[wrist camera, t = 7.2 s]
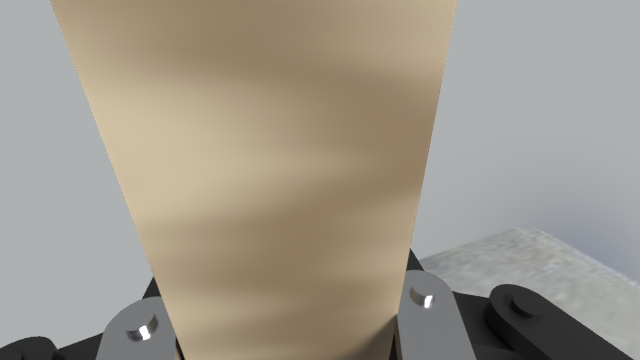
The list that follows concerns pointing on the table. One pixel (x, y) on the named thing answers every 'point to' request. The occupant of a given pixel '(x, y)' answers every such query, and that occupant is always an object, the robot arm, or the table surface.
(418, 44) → the wooden l-shaped block
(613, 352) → the robot arm
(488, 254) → the table surface
